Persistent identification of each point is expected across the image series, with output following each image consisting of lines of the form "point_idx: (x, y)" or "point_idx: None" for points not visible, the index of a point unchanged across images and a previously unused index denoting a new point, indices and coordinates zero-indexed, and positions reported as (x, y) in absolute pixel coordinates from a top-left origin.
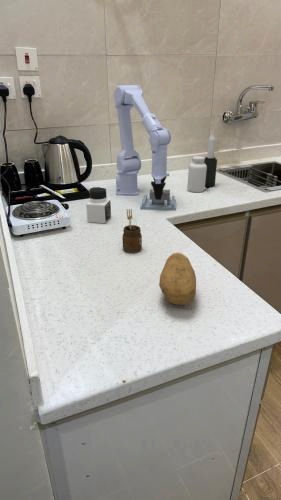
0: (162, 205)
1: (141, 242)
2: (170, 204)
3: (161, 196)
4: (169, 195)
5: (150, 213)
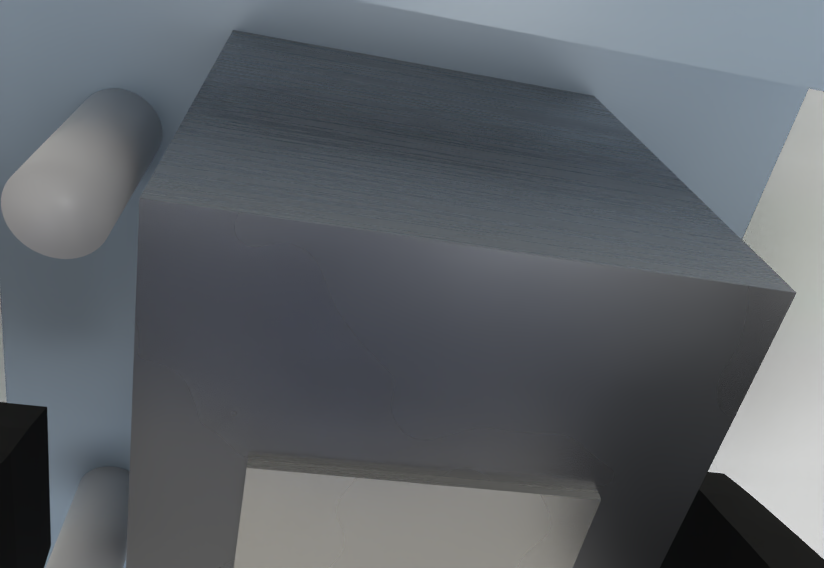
0: None
1: None
2: (526, 46)
3: (805, 544)
4: (734, 243)
5: (805, 493)
